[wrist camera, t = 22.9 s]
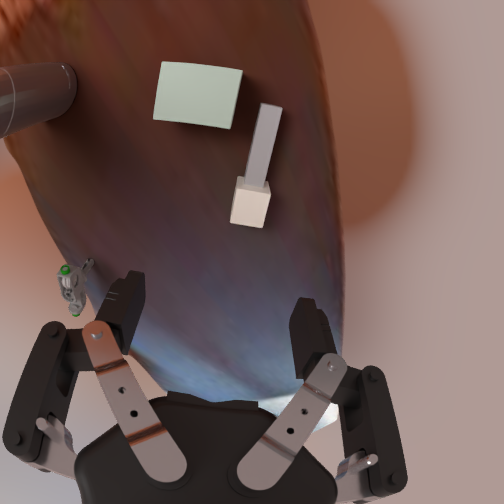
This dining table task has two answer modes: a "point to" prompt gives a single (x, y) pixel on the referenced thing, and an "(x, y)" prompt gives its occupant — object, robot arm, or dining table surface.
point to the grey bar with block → (256, 171)
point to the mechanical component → (74, 285)
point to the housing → (197, 94)
